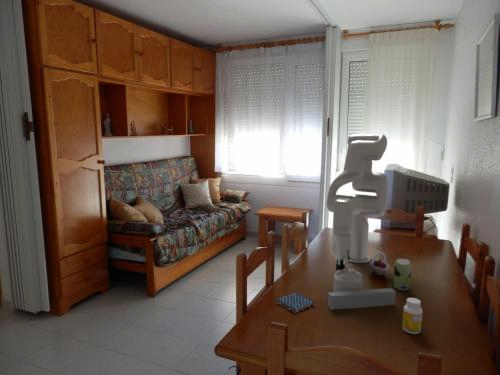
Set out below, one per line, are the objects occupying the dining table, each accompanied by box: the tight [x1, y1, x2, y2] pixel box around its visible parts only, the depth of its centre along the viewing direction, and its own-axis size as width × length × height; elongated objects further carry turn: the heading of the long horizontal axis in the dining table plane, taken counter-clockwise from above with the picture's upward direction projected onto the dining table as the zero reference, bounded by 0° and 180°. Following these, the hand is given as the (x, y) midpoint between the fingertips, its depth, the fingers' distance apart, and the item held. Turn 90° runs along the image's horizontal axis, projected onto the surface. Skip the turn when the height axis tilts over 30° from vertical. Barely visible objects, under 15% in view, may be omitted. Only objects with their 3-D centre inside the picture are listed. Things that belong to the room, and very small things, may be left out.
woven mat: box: [275, 292, 316, 314], centre depth 131 cm, size 10×11×2 cm
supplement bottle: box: [401, 297, 423, 335], centre depth 114 cm, size 5×5×10 cm
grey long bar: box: [327, 287, 397, 311], centre depth 130 cm, size 3×24×5 cm, turn 100°
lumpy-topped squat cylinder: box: [333, 267, 364, 292], centre depth 140 cm, size 10×13×9 cm
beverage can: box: [393, 258, 412, 292], centre depth 143 cm, size 6×7×12 cm
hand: (340, 274), depth 148 cm, fingers closed
